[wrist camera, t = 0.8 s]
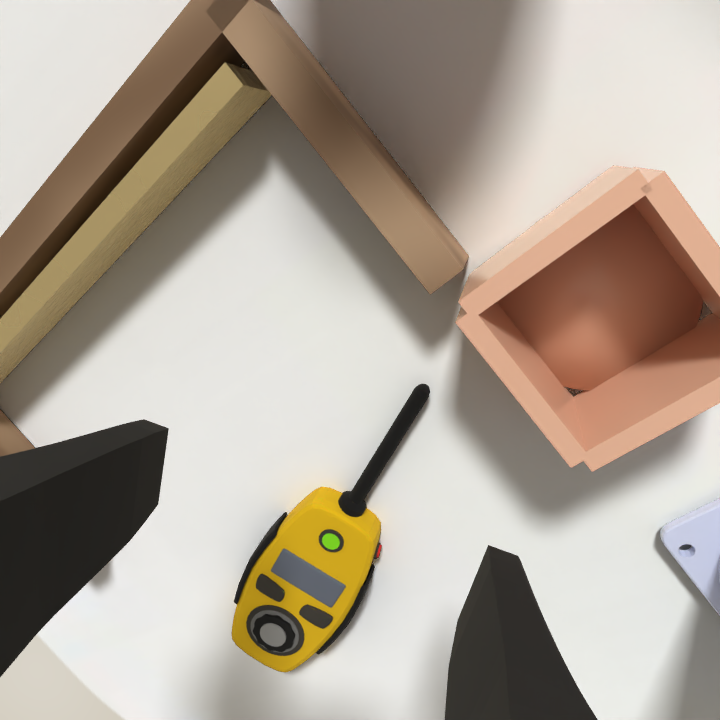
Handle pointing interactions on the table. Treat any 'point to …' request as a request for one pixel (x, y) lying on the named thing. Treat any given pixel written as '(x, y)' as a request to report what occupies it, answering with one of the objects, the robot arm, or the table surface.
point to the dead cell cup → (604, 316)
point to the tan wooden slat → (131, 207)
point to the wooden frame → (169, 98)
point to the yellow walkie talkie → (314, 565)
